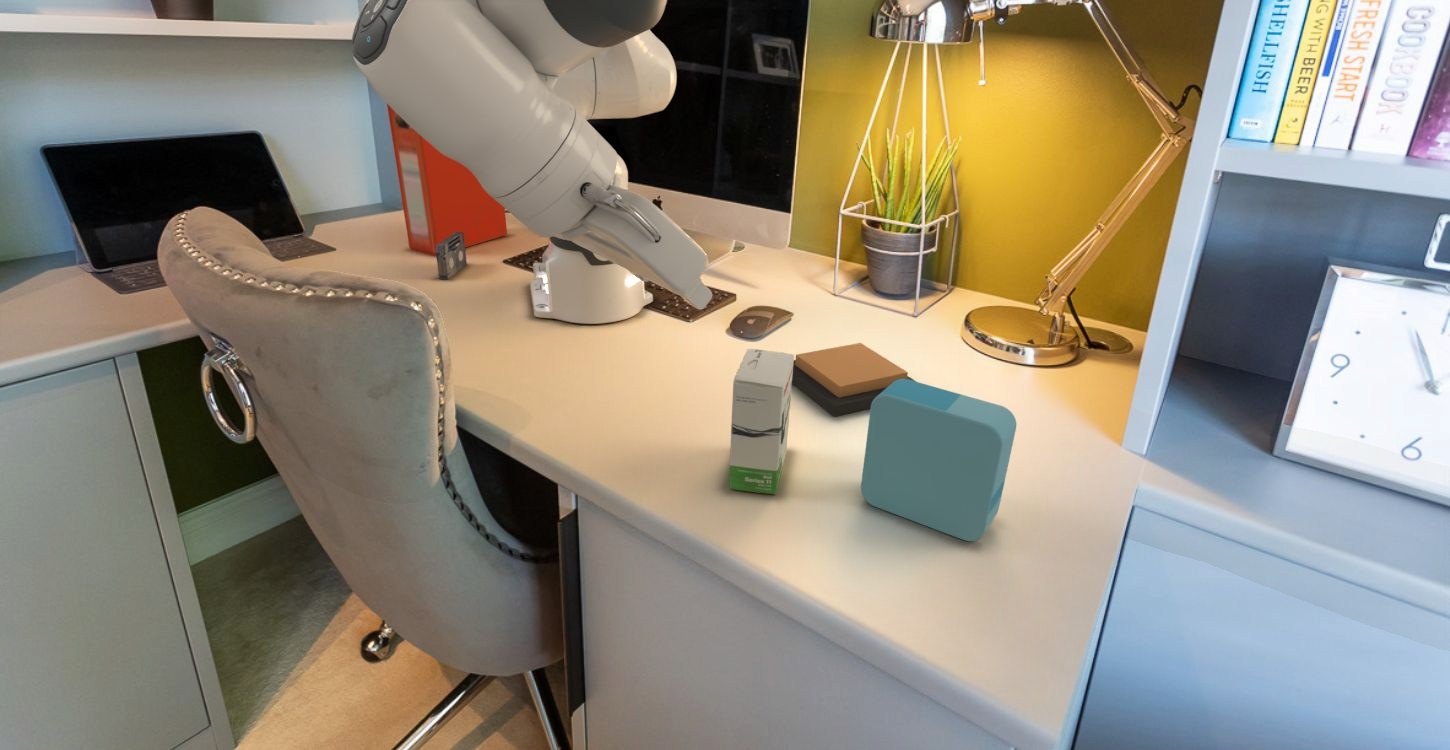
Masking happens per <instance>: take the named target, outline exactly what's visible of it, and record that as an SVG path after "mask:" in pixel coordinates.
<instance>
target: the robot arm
mask: <svg viewBox="0 0 1450 750" xmlns="http://www.w3.org/2000/svg"><path fill="white" fill-rule="evenodd" d="M667 3H668V0H368V1H367V3H365V4H364V7H363V8H362V9H361V11H360V13H359V16H358V18H357V20H356V23H355V26H354V28H353V32H352V37H351V44H352V45H351V55H352V57H353V60H354V62H355V64H356V66H357V67H358V69H359V71H360V73H361V74H362V75H363V77H364V78H365V79H366V81H367V82H368V84H369V85H370V86H371V87H372V88H373V90H374V91H375V92H376V93H377V94H378V95H379V97H380V99H382V100H383V101H384V102H385V103H386V105H387V104H388V105H389V106H390V107H391V108H392V109H393V110H394V111H395V112H396V113H397V114H398V115H399V116H400V117H401V118H402V119H403V120H404V121H405V122H406V123H407V124H409V125H410V126H411V127H412V128H413V129H414V130H415V131H416V132H417V133H418V134H420V135H421V136H422V137H423V138H424V139H425V140H426V141H428V142H429V143H430V144H431V145H432V146H433V147H434V148H436V149H437V150H438V151H439V152H440V153H442V154H443V155H445V156H446V157H448V158H450V159H453V160H455V161H457V162H459V163H460V164H462V165H463V166H465V167H466V168H467V169H469V170H470V171H471V172H472V173H473V174H474V175H475V177H476V178H477V179H478V181H479V182H480V184H481V186H482V187H483V188H484V190H485V191H486V192H487V193H488V194H489V195H490V196H491V197H492V198H494V199H495V200H496V201H497V202H498V203H499V204H501V205H502V206H503V207H504V208H505V211H507V212H508V213H510V214H511V215H512V216H513V217H514V218H516V219H517V220H518V221H519V222H520V223H521V224H523V225H524V226H525V227H526V228H527V229H528V230H529V231H530V232H532V234H534V235H535V236H536V237H538V238H543V239H547V238H549V241H550V243H549V244H548V246H547V247H546V249H545V250H544V252H543V253H542V255H541V259H542V260H541V262H533V263H532V270H533V278H534V279H532V280H531V281H530V283H529V289H530V296H531V297H530V298H531V303H532V310H533V316H534V317H535V318H536V317H537V318H542V319H555V320H559V321H562V322H568V323H574V324H590V325H593V324H594V325H596V324H597V325H598V324H608V323H614V322H619V321H620V322H621V321H624V320H627V319H629V318H632V317H634V316H636V315H637V314H639V313H640V312H641V311H642V309H643V308H644V307H645V306H647V305H649V304H651V303H653V302H654V295H653V293H651V292H649V291H648V290H646V289H645V283H648V282H651V283H653V284H655V285H657V286H659V287H661V288H663V289H665V290H667V291H669V292H671V293H673V294H675V295H676V296H679V297H681V299H683V300H684V301H685V302H686V303H687V304H688V305H689V306H691V307H693V308H695V309H697V310H699V311H702V310H704V309H705V308H706V307H707V305H708V304H709V303H710V301H711V300H712V298H713V292H712V290H710V288H709V287H708V286H707V285H706V284H705V283H704V282H703V280H702V279H701V276H702V275H703V274H704V273H705V272H706V270H707V268H708V266H709V264H710V260H709V257H708V255H707V253H706V251H705V250H704V249H703V248H702V247H701V246H700V245H699V244H698V243H697V242H696V241H695V240H694V239H693V238H692V237H691V236H689V234H688V233H687V232H685V231H684V230H683V228H681V227H680V226H679V225H678V224H677V223H676V222H674V220H673V219H672V218H671V217H669V216H668V215H667V213H665V212H664V211H663V210H662V209H661V208H659V206H657V205H656V204H654V203H653V202H652V201H650V200H649V199H648V198H647V197H646V196H644V195H642V194H640V193H638V192H635V191H632V190H629V170H628V168H627V165H626V163H625V161H624V159H623V158H622V157H621V156H620V155H619V154H618V153H617V151H616V149H614V148H613V146H612V145H611V144H610V143H609V142H608V141H607V140H606V139H605V138H604V137H603V136H602V135H601V134H600V133H599V131H598V130H596V129H595V128H594V126H592V124H590V122H589V120H605V119H609V120H610V119H633V118H639V117H642V116H646V115H651V114H655V113H659V112H662V111H664V110H665V109H666V108H667V106H668V105H669V104H670V103H671V101H672V99H673V97H674V94H675V91H676V87H677V78H678V75H677V74H678V73H677V68H676V63H675V60H674V58H673V56H672V54H671V51H670V50H669V48H668V47H667V46H666V44H665V43H664V42H662V41H661V40H660V39H659V38H658V37H657V36H656V35H655V34H654V33H653V32H652V31H651V29H653V28H654V27H656V25H657V24H658V23H659V21H660V20H661V18H662V17H663V14H664V12H665V9H666V5H667Z"/></svg>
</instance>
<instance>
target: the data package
mask: <svg viewBox="0 0 1450 750" xmlns="http://www.w3.org/2000/svg"><path fill="white" fill-rule="evenodd" d="M915 381H916V380H915ZM915 381H912V380H908V379H898V380H896V381H894V382H893V383H892V384H891V385H889V386H888V387H887V388H886V389H885V390H884V391H883V392H881V393H880V394H879V395H878V396H877V397H876V398H875V399H874V400H873V401H872V404H871V409H869V417H868V426H867V436H866V443H865V449H864V452H865V453H864V459H863V465H862V474H861V475H862V476H861V483H860V493H861V495H862V497H863V498H864V500H865V501H866V502H867V503H868V504H869V505H870V506H872V507H874V508H877V509H880V510H883V511H886V512H888V513H891V514H892V515H893V514H894V515H896V516H899V517H901V518H904V519H907V520H909V521H912V522H915V523H917V524H920V525H923V526H925V527H928V528H930V529H934V530H936V531H938V532H941V533H943V534H946V535H949V536H952V537H954V538H956V539H960V540H963V541H966V542H975V541H978V540H980V539H981V538H982V537H984V535H985V533H986V532H987V530H988V528H989V527H990V525H991V524H992V522H993V521H994V519H995V517H996V516H997V515H998V512H999V509H1000V505H1001V500H1002V496H1003V490H1004V486H1005V482H1006V477H1007V472H1008V467H1009V463H1010V458H1011V454H1012V449H1013V445H1014V440H1015V436H1016V431H1017V419H1016V417H1015V415H1014V414H1013V413H1012V411H1011V410H1010V409H1008V408H1007V407H1005V406H1002V405H1000V404H996V403H993V402H989V401H987V400H982V399H979V398H975V397H972V396H969V395H965V394H961V393H957V392H954V391H951V390H947V389H943V388H941V387H936V386H933V385H930V384H926V383H922V382H919V381H916V382H915Z"/></svg>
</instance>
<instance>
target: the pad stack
mask: <svg viewBox="0 0 1450 750" xmlns="http://www.w3.org/2000/svg"><path fill="white" fill-rule="evenodd" d="M898 379H908V380H912V381H915V382H917V381H916V380H915V379H914V378H911V377H910V376H909V372H908V371H906V370H905V369H903V368H901V367H900V366H898V365H897V364H895V363H894V362H892V361H891V360H889V359H887V358H885V357H884V356H882V355H881V354H879V353H877V352H876V351H874V350H873V349H871V348H869V347H868V346H866V345H865V344H863V343H862V342H858V343H852V344H846V345H842V346H841V345H840V346H835V347H831V348H830V347H829V348H825V349H819V350H813V351H808V352H802V353H797V354H795V359H794V362H793V374H792V385H793V386H794V387H796V389H798V390H799V391H801V392H802V393H803V394H805V395H806V396H807V397H808V398H809V399H811V400H812V401H813V402H814V403H816V404H817V405H818V406H819V407H821V408H822V409H823V410H825V411H826V412H827V413H829V414H830V415H831V416H832V417H834V418H835V417H840V416H844V415H850V414H853V413H858V412H861V411H867V410H870V409H871V404H872V401H873V400H874V399H875V398H876V397H877V396H878V395H879V394H880V393H881V392H883V391H884V390H885V389H886V388H887V387H888V386H889V385H891V384H892V383H893V382H894V381H896V380H898Z"/></svg>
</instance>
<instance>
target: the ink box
mask: <svg viewBox="0 0 1450 750" xmlns="http://www.w3.org/2000/svg"><path fill="white" fill-rule="evenodd" d="M794 360H795V355H794V354H793V353H787V352H781V351H780V352H779V351H774V350H773V351H772V350H766V349H760V348H747V349H746V351H745V354H744V355H743V358H742V361H741V362H740V364H739V367H738V369H737V371H736V373H735V375H734V379H733V382H732V384H733V385H732V402H731V403H732V404H731V425H730V426H731V427H730V448H729V449H730V451H729V474H728V475H729V477H728V478H729V480H728V482H729V483H728V486H729V488H730V489H731V490H734V491H743V492H751V493H759V494H769V495H770V494H771V495H776V494H777V492H778V487H779V484H780V481H781V480H780V479H781V475H782V471H783V467H784V464H785V459H786V455H787V449H788V436H789V426H790V425H789V424H790V413H791V412H790V410H791V397H792V387H793V386H792V385H793V384H792V374H793V362H794Z"/></svg>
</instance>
